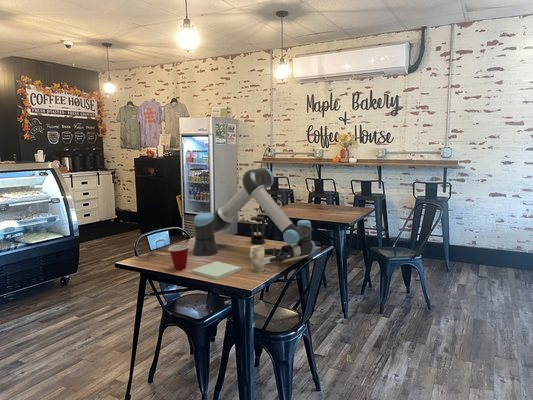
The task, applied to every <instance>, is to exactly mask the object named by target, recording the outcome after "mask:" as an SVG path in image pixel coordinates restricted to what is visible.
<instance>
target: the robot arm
mask: <svg viewBox="0 0 533 400" xmlns="http://www.w3.org/2000/svg"><path fill="white" fill-rule="evenodd" d="M241 181H242V187H241V188H240V189H239V190H238V191H237V192H236V193H235V195H233V197H231V199H229V200H228V202H226V204H224V206H220V207H219V208H217V210H215V211H214V212H202V213H201V212H200V213H198V214H196V215H195V216H194V218H193V219H194V222H193V225H194V244H193V248H192V254H193V255H194V256H198V257H199V256H200V257H201V256H204V257H206V256H212V255H216V254H218V253H219V248H218V246H217V242H216V238H215V233H218V232H221V231H225V230H228V229H229V228H230V227H231V225H232V223H233V220H234V217H235V216H236V215H237V214H238V213H239V212H240V211H241V209H243V208H244V206H246V205H247V204H248V203H249V202H250V201H251V200H252V199H254V200H255V201H256V202H257V204H258V205H259V206H260V208H261V209H263V211H264V212H265V213H266V215H267V216H268V217H269V219H270V220H271V221H272V222H273V223H274V225H276V227H277V228H278V229H279V230H280V231H281V233H282V234H283V235H282V238H283V241H284V242H285V243H286V244H285V245H282V246H281V248H276V247H275V248H274V247H273V248H264V256H269V257H264V258H263V264H265V265H266V264H272V263H275V262H276V263H283V262H284V261H286V260H291V259H296V258H298V257H305V256H309V255H313V254H314V253H315V252H316V250H317V246H316V243H315V241H313V240H312V223H311V221H310V220H308V219H301V220H298V221H297V224H296V225H295V224H294V223H293V222H292V220H290V218H289V217H288V216H287V214H286V213H285V211H283V210H282V208H281V207H280V206H279V205H278V204H277V202H276V201H275V200H274V198H273V197H271V195H270V194H269V192H267V190H266V189H269V188H271V186H273V184H274V181H275V179H274V174H273V172H272V171H271V170H270V169H268V168H265V167H261V168H254V169H253V168H252V169H248V170H247V171H246V172H244V174H243V175H242V179H241ZM249 258H250V259H251V251H250V252H249Z"/></svg>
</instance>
